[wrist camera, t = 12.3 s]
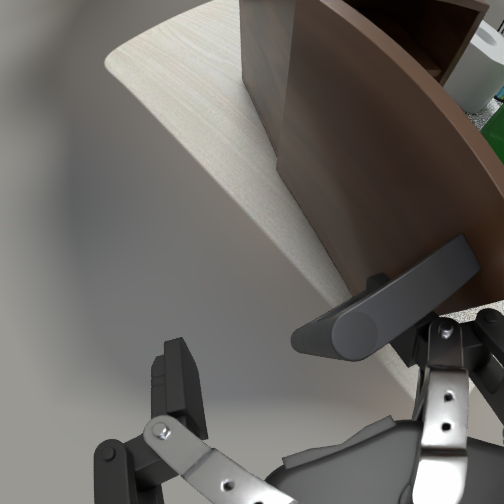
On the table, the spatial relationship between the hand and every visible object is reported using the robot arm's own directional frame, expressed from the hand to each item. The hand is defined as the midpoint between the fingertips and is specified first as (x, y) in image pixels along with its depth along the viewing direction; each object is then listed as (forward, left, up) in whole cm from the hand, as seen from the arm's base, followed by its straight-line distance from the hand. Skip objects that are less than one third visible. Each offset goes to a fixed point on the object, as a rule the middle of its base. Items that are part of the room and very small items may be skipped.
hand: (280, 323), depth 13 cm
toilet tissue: (+10, +34, -8) cm, 37 cm away
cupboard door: (0, +5, -8) cm, 9 cm away
